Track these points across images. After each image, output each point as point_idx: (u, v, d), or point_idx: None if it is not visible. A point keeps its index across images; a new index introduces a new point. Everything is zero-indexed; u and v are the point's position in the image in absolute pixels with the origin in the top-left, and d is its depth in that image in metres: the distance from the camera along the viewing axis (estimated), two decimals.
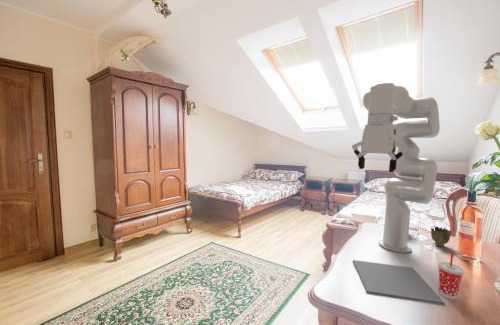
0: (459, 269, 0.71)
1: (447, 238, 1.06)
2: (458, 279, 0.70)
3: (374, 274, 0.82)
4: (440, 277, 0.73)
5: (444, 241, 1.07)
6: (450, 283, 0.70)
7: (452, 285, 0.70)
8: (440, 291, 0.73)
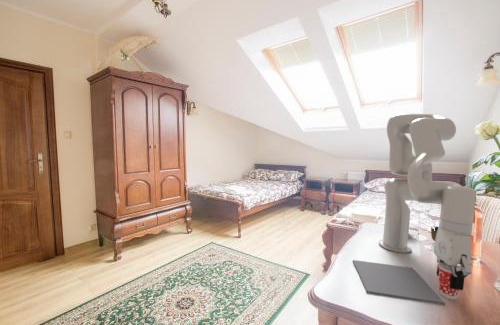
0: (459, 269, 0.71)
1: None
2: None
3: (374, 274, 0.82)
4: (440, 277, 0.73)
5: None
6: None
7: None
8: (440, 291, 0.73)
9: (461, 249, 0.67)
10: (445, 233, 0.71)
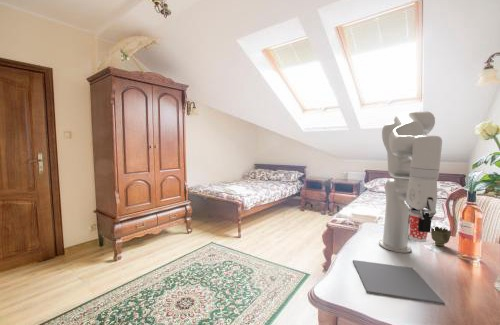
0: None
1: (447, 238, 1.06)
2: None
3: (374, 274, 0.82)
4: (410, 223, 0.77)
5: (444, 241, 1.07)
6: None
7: None
8: (410, 236, 0.77)
9: (428, 192, 0.71)
10: (415, 180, 0.75)
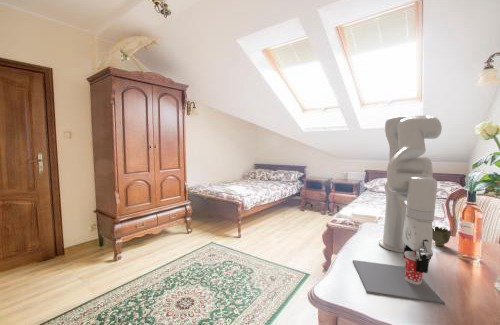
0: None
1: (447, 238, 1.06)
2: None
3: (374, 274, 0.82)
4: (406, 265, 0.79)
5: (444, 241, 1.07)
6: (413, 269, 0.76)
7: (416, 271, 0.76)
8: (406, 278, 0.79)
9: (423, 235, 0.72)
10: (411, 220, 0.77)
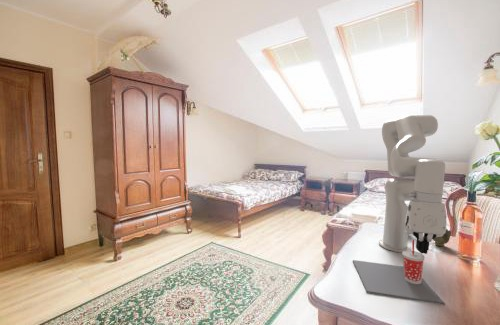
0: (420, 256, 0.77)
1: (447, 238, 1.06)
2: (419, 265, 0.76)
3: (374, 274, 0.82)
4: (404, 265, 0.79)
5: (444, 241, 1.07)
6: (412, 269, 0.76)
7: (414, 271, 0.76)
8: (406, 278, 0.79)
9: None
10: (434, 206, 0.73)
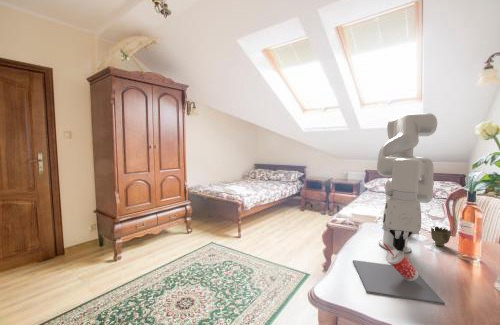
0: (399, 254, 0.77)
1: (447, 238, 1.06)
2: (403, 264, 0.76)
3: (374, 274, 0.82)
4: None
5: (444, 241, 1.07)
6: (402, 270, 0.77)
7: (404, 270, 0.76)
8: None
9: None
10: (409, 204, 0.75)
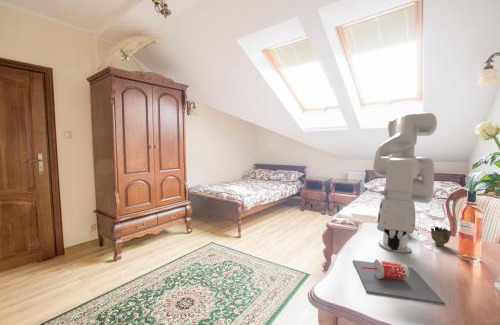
0: (379, 266, 0.78)
1: (447, 238, 1.06)
2: (388, 272, 0.77)
3: (374, 274, 0.82)
4: None
5: (444, 241, 1.07)
6: (392, 277, 0.77)
7: (394, 276, 0.77)
8: None
9: None
10: (403, 204, 0.75)
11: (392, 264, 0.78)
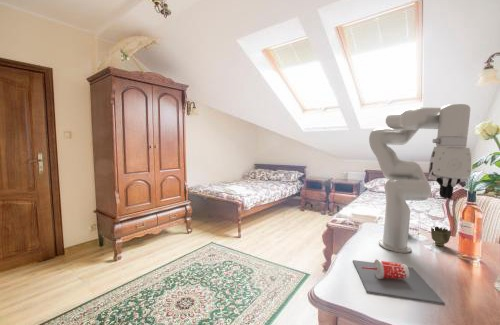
0: (379, 266, 0.78)
1: (447, 238, 1.06)
2: (388, 272, 0.77)
3: (374, 274, 0.82)
4: None
5: (444, 241, 1.07)
6: (392, 277, 0.77)
7: (394, 276, 0.77)
8: None
9: None
10: (458, 150, 0.74)
11: (392, 264, 0.78)
